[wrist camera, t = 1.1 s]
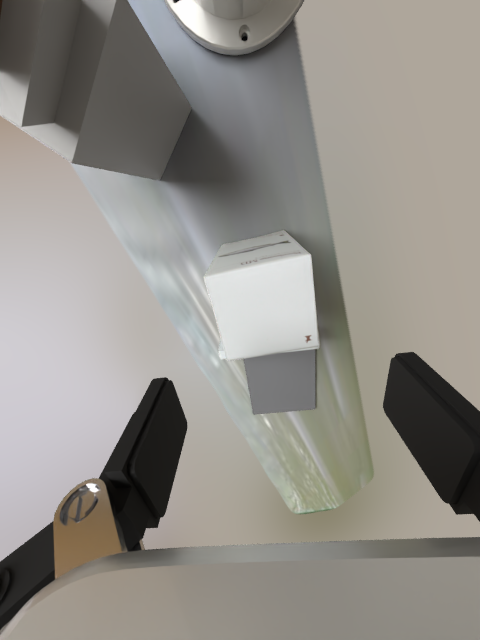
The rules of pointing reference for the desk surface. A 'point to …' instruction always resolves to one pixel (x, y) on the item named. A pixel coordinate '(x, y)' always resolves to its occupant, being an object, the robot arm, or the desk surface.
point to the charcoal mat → (281, 381)
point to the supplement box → (263, 296)
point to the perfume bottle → (89, 84)
